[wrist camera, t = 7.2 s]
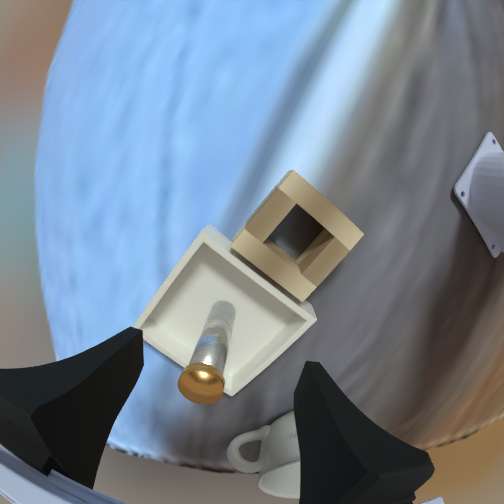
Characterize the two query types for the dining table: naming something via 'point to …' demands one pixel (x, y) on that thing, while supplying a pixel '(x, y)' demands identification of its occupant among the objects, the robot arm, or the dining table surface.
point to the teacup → (272, 457)
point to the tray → (224, 289)
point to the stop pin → (209, 357)
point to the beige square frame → (315, 255)
